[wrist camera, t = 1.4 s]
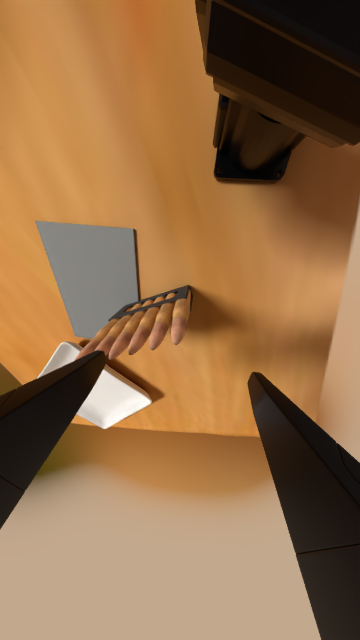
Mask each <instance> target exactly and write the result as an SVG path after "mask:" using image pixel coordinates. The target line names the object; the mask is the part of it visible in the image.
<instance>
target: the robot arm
mask: <svg viewBox="0 0 360 640" xmlns="http://www.w3.org/2000/svg"><path fill="white" fill-rule="evenodd" d="M195 4H196V13H197V19H198V25H199V30H200V36H201V41H202V47H203V61H204V66H205V70H206V74H207V75H209V76H211V77H213V84H214V90H215V91H216V92H218V93H219V100H218V108H217V116H216V123H215V131H214V139H213V146H214V148H217V154H216V161H215V168H214V177H215V178H216V179H218V180H236V181H255V182H274V183H275V182H278V181H279V180H280V179H281V178H282V177H283V176H284V173H285V170H286V167H287V164H288V161H289V158H290V155H291V152H292V150H293V149H294V148H295V147H296V146H297V145H298V144H299V143H300V142H301V141H302V140H303V139H304V138H305V137H306V136H308V137H310V138H313V139H315V140H317V141H319V142H321V143H323V144H325V145H327V146H329V147H331V148H333V147H337V146H342V145H344V144H346V143H347V144H349V145H351V146H354V145H356V144H358V143H359V142H360V0H195ZM218 169H221V171H222V173H221V174H218V173H217V170H218ZM276 172H279V173H280V175H279V177H276ZM106 363H107V359H106V355H105V352H104V351H101V350H96V351H94V352H92V353H90V354H87V355H85V356H83V357H81V358H79V359H77V360H75V361H73V362H71V363H68V364H66V365H64V366H62V367H60V368H58V369H56V370H54V371H52V372H50V373H47V374H45V375H43V376H41V377H39V378H37V379H35V380H33V381H31V382H28V383H26V384H24V385H22V386H20V387H18V388H17V389H14V390H12V391H9V392H7V393H5V394H3V395H1V396H0V529H1V527H2V526H3V524H4V523H5V521H6V520H7V518H8V517H9V515H10V514H11V512H12V511H13V509H14V507H15V506H16V505H17V503H18V502H19V500H20V499H21V497H22V496H23V494H24V492H25V490H26V489H27V488H28V486H29V485H30V483H31V482H32V480H33V479H34V477H35V475H36V474H37V473H38V471H39V470H40V468H41V467H42V465H43V464H44V462H45V460H46V459H47V457H48V456H49V454H50V453H51V451H52V450H53V448H54V447H55V445H56V444H57V442H58V441H59V439H60V438H61V436H62V434H63V433H64V431H65V430H66V429H67V427H68V426H69V424H70V423H71V421H72V419H73V418H74V416H75V415H76V413H77V412H78V410H79V409H80V407H81V406H82V404H83V403H84V401H85V400H86V398H87V397H88V395H89V394H90V392H91V391H92V389H93V387H94V386H95V384H96V382H97V380H98V378H99V376H100V375H101V373H102V371H103V369H104V367H105V365H106ZM248 389H249V394H250V399H251V404H252V409H253V414H254V417H255V421H256V424H257V427H258V431H259V434H260V437H261V441H262V444H263V447H264V450H265V454H266V457H267V460H268V464H269V467H270V470H271V474H272V477H273V480H274V483H275V487H276V490H277V494H278V497H279V500H280V504H281V507H282V510H283V514H284V517H285V520H286V523H287V527H288V530H289V534H290V537H291V540H292V543H293V547H294V550H295V553H296V557H297V561H298V564H299V567H300V571H301V574H302V577H303V580H304V584H305V587H306V590H307V594H308V597H309V600H310V603H311V607H312V610H313V613H314V617H315V620H316V624H317V627H318V630H319V633H320V637H321V640H360V463H359V462H358V461H357V460H356V459H355V458H354V457H353V456H351V455H350V454H349V453H348V452H347V451H346V450H345V449H344V448H343V447H341V446H340V445H339V444H338V443H336V441H335V440H334V439H333V438H331V437H330V436H329V435H328V434H327V433H326V432H325V431H324V430H323V429H322V428H320V427H319V426H318V425H317V424H316V423H315V422H314V421H313V420H312V419H311V418H310V417H308V416H307V415H306V414H305V413H304V412H303V411H302V410H301V409H300V408H299V407H298V406H296V405H295V404H294V403H293V402H292V401H291V400H290V399H289V398H288V397H287V396H285V395H284V394H283V393H282V392H281V391H280V390H279V389H278V388H277V387H276V386H274V385H273V384H272V383H271V382H270V381H269V380H268V379H267V378H266V377H265V376H263V375H262V374H261V373H259V372H252V373H251V376H250V378H249V380H248Z"/></svg>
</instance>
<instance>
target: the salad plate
mask: <svg viewBox="0 0 360 640" xmlns="http://www.w3.org/2000/svg"><path fill="white" fill-rule="evenodd" d="M82 349H83V347H81V346H80V345H78V344H76V343H73V342H62V343H61V344H60V345H59V346H58V348H57V349H56V351H55V352H54V354H53V356H52V357H51V359H50V360H49V362H48V363H47V365H46V366H45V368H44V369H43V371H42V372H41V373H40V374H39V376H38V377H37V378H39V377H41V376H43V375H45V374H47V373H50V372H52V371H54V370H56V369H58V368H60V367H62V366H64V365H66V364H68V363H71V362H73V361H74V360H75V358H76V357H77V355H78V354H79V353H80V351H81V350H82ZM37 378H36V379H37ZM151 403H152V400H151V398H150V396H149V395H148V393H147V392H146V391H144V390H143V389H142V388H140V387H139V386H137V385H136V384H134V383H133V382H131V381H129V380H128V379H126V378H125V377H124V376H122V375H121V374H119V373H118V372H117V371H115V370H114V369H112V368H111V367H109V366H108V365H105V367H104V369H103V371H102V373H101V375H100V376H99V378H98V380H97V382H96V384H95V386H94V387H93V389H92V391H91V392H90V394H89V395H88V397H87V398H86V400H85V401H84V403H83V404H82V406H81V407H80V409H79V410H78V412H77V413H76V414H77V415H79V416H81V417H83V418H85V419H87V420H89V421H90V422H92V423H94V424H96V425H98V426H100V427H101V428H103V429H106V428H108V427H110V426H112V425H114V424H115V423H117V422H119V421H121V420H122V419H124V418H126V417H127V416H129V415H131V414H133V413H135V412H137V411H139V410H141V409H143V408H144V407H146V406H148V405H150V404H151Z"/></svg>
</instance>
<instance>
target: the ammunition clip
mask: <svg viewBox="0 0 360 640" xmlns="http://www.w3.org/2000/svg"><path fill="white" fill-rule="evenodd" d="M192 299H193V296H192V292H191V289H190V286H189V285H187V286H184V287H180V288H177V289H174V290H171V291H168V292H165V293H162V294H159V295H156V296H153V297H149V298H146V299H143V300H140V301H137V302H134V303H131V304H128V305H125V306H124V307H123V308H121V309H120V310H119V311H118V312H117V313H116V314H114V315H113V316H112V317H111V318H110V319H109V320H108V321H109V323H108V324H106V325H105V326H104V327H103V328H102V329H101V330H100V331H98V333H97V334H96V336H95V337H94V338H93V339H92V340H91V341H90V342H89V343H88V344H87V345H86V346H85V347H84V348H83V349H82V350H81V351H80V353H79V354H78V355H77V357H76V358H75V360H77V359H79V358H81V357H83V356H85V355H87V354H90V353H92V352H94V351H96V350H101V351H104V352H105V355H107V354H108V353H109V352H110V353H109V359H110V360H112V359H114V358H116V357H117V356H118V355H120V354H121V353H122V352H123V351H124V350H125V349H126V348H127V347H128V346H129V355H133V354H134V353H136V352H137V351H138V350H139V349H140V348H141V347H142V346H143V345H144V343H145V342H146V340H147V339H148V337H149V335H150V334H151V336H150V349H151V350H154V349H156V348H157V347H158V346H159V345H160V344H161V342H162V341H163V339H164V337H165V335H166V332H167V330H168V328H169V326H170V325H171V323H172V327H171V337H172V341H173V343H174V344H175V345H177V344H179V343H180V342H181V340H182V338H183V336H184V334H185V330H186V325H187V321H188V319H189V315H190V311H191V306H192ZM129 344H130V345H129ZM75 360H74V361H75Z"/></svg>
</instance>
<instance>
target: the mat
mask: <svg viewBox="0 0 360 640" xmlns="http://www.w3.org/2000/svg"><path fill="white" fill-rule="evenodd" d="M35 222H36V225H37V228H38V231H39V233H40V236H41V239H42V242H43V245H44V248H45V251H46V254H47V256H48V259H49V262H50V265H51V268H52V271H53V274H54V276H55V279H56V282H57V285H58V288H59V291H60V294H61V296H62V299H63V302H64V305H65V308H66V311H67V314H68V317H69V319H70V322H71V325H72V328H73V331H74V334H75V336H76V337H83V338H90V339H93V338H94V337H95V336H96V334H97V333H98V331H100V330H101V329H102V328H103V327H104V326H105V325H106V324H108V323H109V321H108V320H109V319H110V318H111V317H112V316H113V315H114V314H116V313H117V312H118V311H119V310H120V309H121V308H123V307H124V306H125V305H128V304H131V303H134V302H137V301H139V294H138V280H137V265H136V251H135V236H134V229H129V228H117V227H105V226H92V225H80V224H67V223H55V222H43V221H35Z"/></svg>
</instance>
